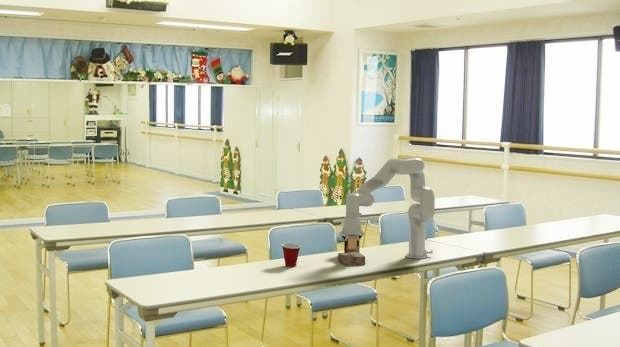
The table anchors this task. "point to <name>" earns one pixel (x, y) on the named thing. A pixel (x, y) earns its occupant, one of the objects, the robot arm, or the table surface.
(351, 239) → the orange block
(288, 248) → the plastic cup
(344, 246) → the coffee box
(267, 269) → the table surface
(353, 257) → the walnut block
